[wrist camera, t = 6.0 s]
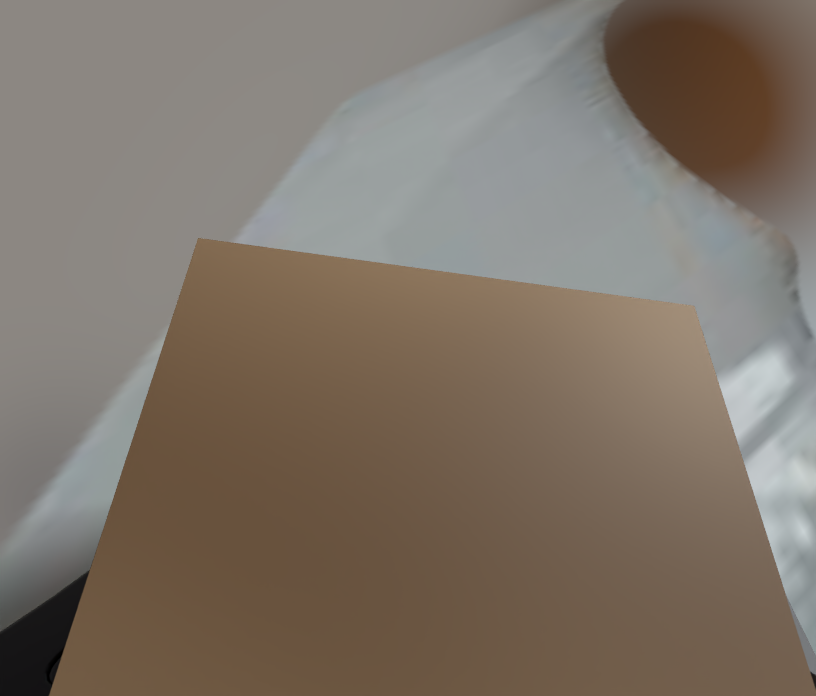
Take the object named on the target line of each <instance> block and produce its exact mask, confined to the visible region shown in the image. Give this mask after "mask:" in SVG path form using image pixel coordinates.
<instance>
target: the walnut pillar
mask: <svg viewBox="0 0 816 696" xmlns="http://www.w3.org/2000/svg"><path fill="white" fill-rule="evenodd" d="M49 696H816V689H815V686H814V683H813V679H812V676H811V673H810V670H809V667H808V664H807V661H806V657H805V654H804V651H803V648H802V645H801V642H800V638H799V635H798V632H797V629H796V626H795V623H794V620H793V616H792V613H791V610H790V607H789V604H788V601H787V597H786V594H785V591H784V588H783V585H782V582H781V578H780V575H779V572H778V569H777V566H776V563H775V560H774V556H773V553H772V550H771V547H770V544H769V541H768V537H767V534H766V531H765V528H764V525H763V522H762V519H761V515H760V512H759V509H758V506H757V503H756V500H755V496H754V493H753V490H752V487H751V484H750V481H749V477H748V474H747V471H746V468H745V465H744V462H743V459H742V455H741V452H740V449H739V446H738V443H737V440H736V436H735V433H734V430H733V427H732V424H731V421H730V418H729V414H728V411H727V408H726V405H725V402H724V399H723V395H722V392H721V389H720V386H719V383H718V380H717V376H716V373H715V370H714V367H713V364H712V361H711V358H710V354H709V351H708V348H707V345H706V342H705V339H704V335H703V332H702V329H701V326H700V323H699V320H698V317H697V313H696V310H695V307H694V306H691V305H683V304H676V303H669V302H662V301H654V300H647V299H640V298H632V297H625V296H618V295H610V294H603V293H596V292H589V291H581V290H574V289H567V288H559V287H552V286H545V285H537V284H530V283H523V282H515V281H508V280H501V279H494V278H486V277H479V276H472V275H464V274H457V273H450V272H442V271H435V270H428V269H420V268H413V267H406V266H399V265H391V264H384V263H377V262H369V261H362V260H355V259H347V258H340V257H333V256H325V255H318V254H311V253H304V252H296V251H289V250H282V249H274V248H267V247H260V246H252V245H245V244H238V243H230V242H223V241H216V240H209V239H201V238H198V240H197V244H196V246H195V249H194V253H193V256H192V259H191V262H190V265H189V268H188V271H187V274H186V277H185V280H184V283H183V286H182V289H181V293H180V295H179V299H178V302H177V305H176V308H175V311H174V314H173V317H172V320H171V323H170V326H169V329H168V332H167V335H166V338H165V341H164V345H163V348H162V351H161V354H160V357H159V360H158V363H157V366H156V369H155V372H154V375H153V378H152V381H151V384H150V387H149V391H148V394H147V397H146V400H145V403H144V406H143V409H142V412H141V415H140V418H139V421H138V424H137V427H136V430H135V434H134V437H133V440H132V443H131V446H130V449H129V452H128V455H127V458H126V461H125V464H124V467H123V470H122V473H121V476H120V480H119V483H118V486H117V489H116V492H115V495H114V498H113V501H112V504H111V507H110V510H109V513H108V516H107V519H106V522H105V526H104V529H103V532H102V535H101V538H100V541H99V544H98V547H97V550H96V553H95V556H94V559H93V562H92V565H91V569H90V572H89V575H88V578H87V581H86V584H85V587H84V590H83V593H82V596H81V599H80V602H79V605H78V608H77V611H76V615H75V618H74V621H73V624H72V627H71V630H70V633H69V636H68V639H67V642H66V645H65V648H64V651H63V654H62V657H61V661H60V664H59V667H58V670H57V673H56V676H55V679H54V682H53V685H52V688H51V691H50V694H49Z"/></svg>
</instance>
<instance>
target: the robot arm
mask: <svg viewBox="0 0 816 696" xmlns="http://www.w3.org/2000/svg"><path fill="white" fill-rule="evenodd" d="M89 572H90V570H89V571H88V572H86V573H85V574H84V575H82V576H81V577H79V578H78V579H77V580H75V581H74V582H72V583H71V584H70V585H68V586H67V587H66V588H64V589H63V590H61V591H60V592H59V593H57V594H56V595H54V596H53V597H52V598H50V599H49V600H47V601H46V602H44V603H43V604H41V605H40V606H38V607H37V608H35V609H34V610H32V611H31V612H29V613H28V614H26V615H25V616H23V617H22V618H20V619H19V620H18V621H16V622H15V623H13V624H12V625H10V626H9V627H7V628H6V629H4V630H3V631H1V632H0V696H49V694H50V691H51V688H52V685H53V682H54V679H55V676H56V673H57V670H58V667H59V664H60V661H61V657H62V654H63V651H64V648H65V645H66V642H67V639H68V636H69V633H70V630H71V627H72V624H73V621H74V618H75V615H76V611H77V608H78V605H79V602H80V599H81V596H82V593H83V590H84V587H85V584H86V581H87V578H88V575H89ZM810 673H811V676H812V679H813V683H814V686H815V689H816V675H815V674H814V673H812V672H811V671H810Z"/></svg>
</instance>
